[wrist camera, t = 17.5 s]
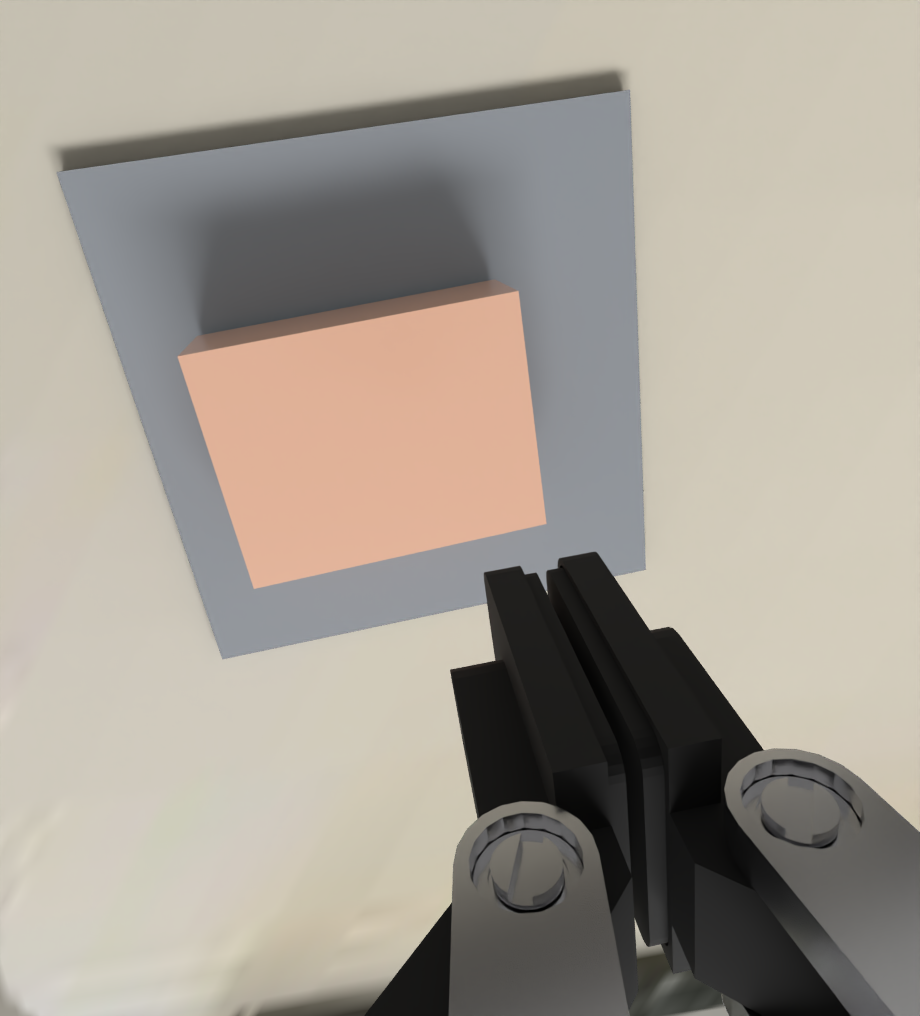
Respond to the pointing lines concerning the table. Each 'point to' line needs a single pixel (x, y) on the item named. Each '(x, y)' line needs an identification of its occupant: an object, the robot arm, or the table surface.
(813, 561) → the table surface
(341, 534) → the salmon orange block
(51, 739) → the table surface
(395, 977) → the robot arm
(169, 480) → the mat
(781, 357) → the table surface
